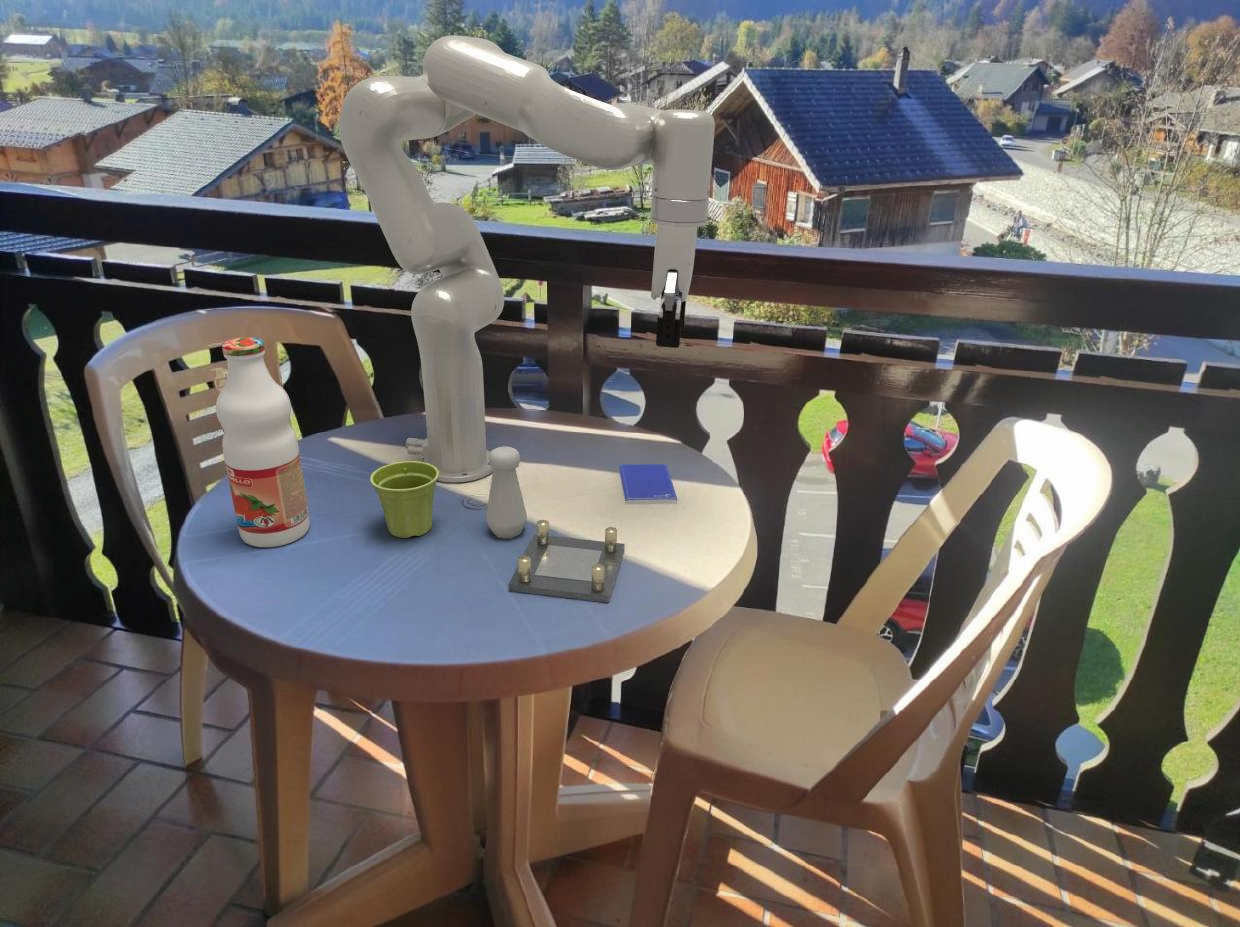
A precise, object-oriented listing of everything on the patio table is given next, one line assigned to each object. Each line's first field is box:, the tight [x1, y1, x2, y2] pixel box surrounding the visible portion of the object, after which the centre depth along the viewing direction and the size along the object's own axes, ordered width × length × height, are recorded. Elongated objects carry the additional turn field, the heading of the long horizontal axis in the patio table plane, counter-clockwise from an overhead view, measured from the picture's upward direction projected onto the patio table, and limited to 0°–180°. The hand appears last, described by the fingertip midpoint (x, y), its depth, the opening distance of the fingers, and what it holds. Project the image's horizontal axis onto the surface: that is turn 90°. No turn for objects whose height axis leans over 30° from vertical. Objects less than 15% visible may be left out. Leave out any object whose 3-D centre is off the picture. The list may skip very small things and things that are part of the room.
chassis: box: [508, 519, 626, 604], centre depth 108 cm, size 13×13×4 cm
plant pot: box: [369, 460, 439, 539], centre depth 116 cm, size 9×9×9 cm
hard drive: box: [618, 463, 678, 505], centre depth 132 cm, size 2×8×12 cm
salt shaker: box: [485, 445, 528, 540], centre depth 115 cm, size 6×6×13 cm
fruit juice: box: [215, 337, 311, 548], centre depth 109 cm, size 9×9×28 cm
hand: (670, 336), depth 114 cm, fingers open, 9 cm apart
